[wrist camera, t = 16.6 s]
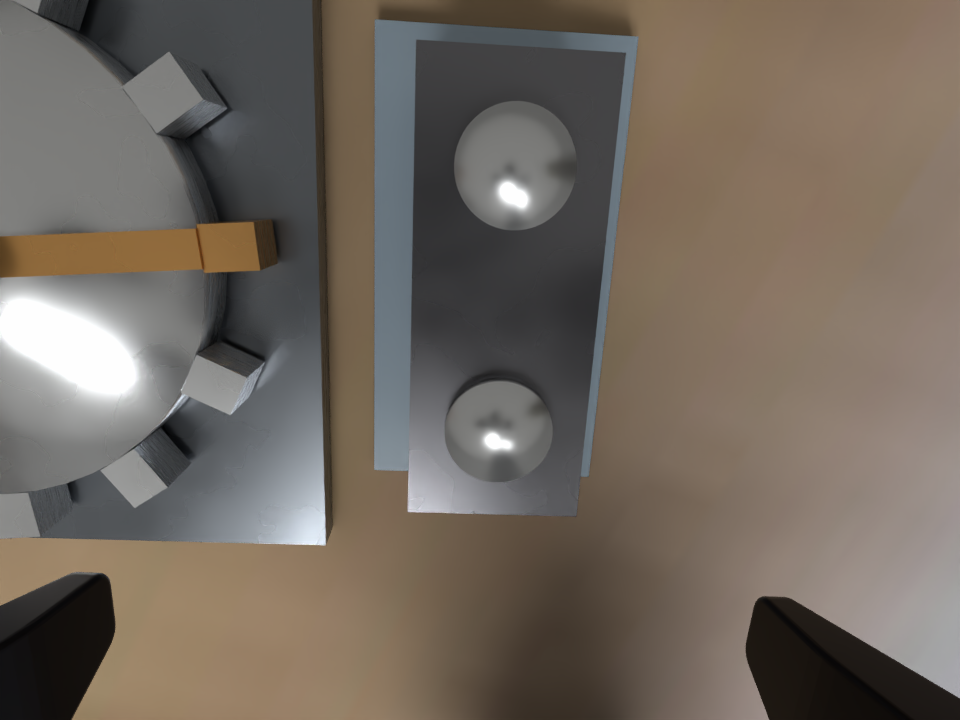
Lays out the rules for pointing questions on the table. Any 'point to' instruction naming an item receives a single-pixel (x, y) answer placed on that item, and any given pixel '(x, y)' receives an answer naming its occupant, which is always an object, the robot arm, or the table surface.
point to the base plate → (242, 279)
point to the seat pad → (397, 210)
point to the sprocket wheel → (105, 266)
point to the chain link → (506, 271)
